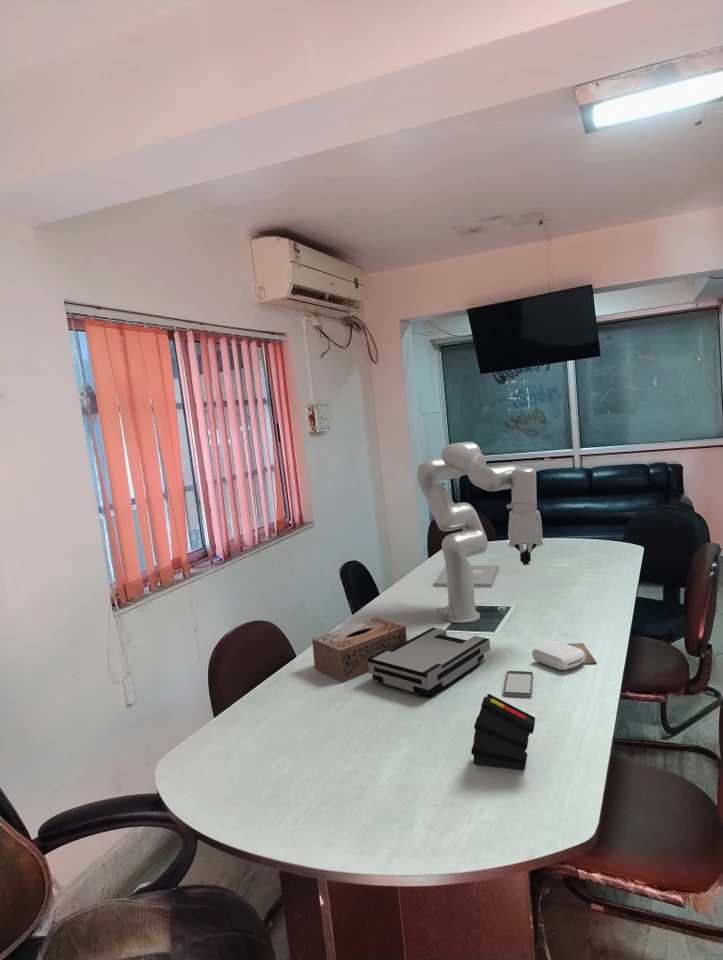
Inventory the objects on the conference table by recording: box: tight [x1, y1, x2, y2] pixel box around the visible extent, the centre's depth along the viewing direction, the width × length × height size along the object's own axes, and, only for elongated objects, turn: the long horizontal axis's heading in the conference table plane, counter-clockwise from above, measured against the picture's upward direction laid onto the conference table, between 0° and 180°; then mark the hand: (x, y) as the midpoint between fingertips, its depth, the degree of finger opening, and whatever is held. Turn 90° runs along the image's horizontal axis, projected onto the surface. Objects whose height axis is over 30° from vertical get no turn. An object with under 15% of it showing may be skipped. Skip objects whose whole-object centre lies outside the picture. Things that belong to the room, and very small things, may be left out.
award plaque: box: [433, 564, 500, 589], centre depth 280 cm, size 25×30×2 cm
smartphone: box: [502, 670, 534, 699], centre depth 170 cm, size 7×1×15 cm
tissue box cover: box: [311, 616, 408, 684], centre depth 193 cm, size 26×14×10 cm, turn 129°
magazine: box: [471, 693, 536, 771], centre depth 133 cm, size 4×13×15 cm, turn 70°
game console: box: [368, 627, 491, 699], centre depth 182 cm, size 21×32×8 cm, turn 138°
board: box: [567, 642, 598, 666], centre depth 187 cm, size 12×15×1 cm
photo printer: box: [531, 640, 585, 671], centre depth 181 cm, size 10×4×12 cm
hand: (525, 563), depth 197 cm, fingers closed
